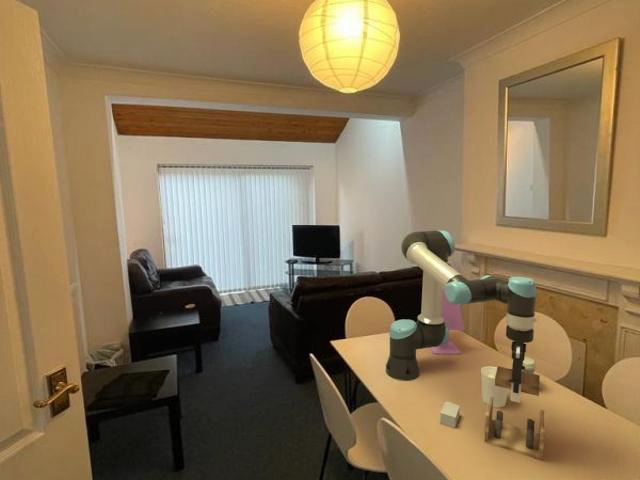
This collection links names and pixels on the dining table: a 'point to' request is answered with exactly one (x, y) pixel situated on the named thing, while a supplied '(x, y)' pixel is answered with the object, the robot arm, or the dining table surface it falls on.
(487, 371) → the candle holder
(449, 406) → the block
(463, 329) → the vase
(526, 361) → the coffee cup
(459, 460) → the dining table surface
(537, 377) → the board
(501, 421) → the peg frame
